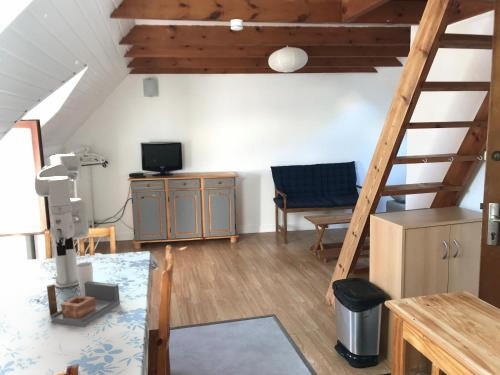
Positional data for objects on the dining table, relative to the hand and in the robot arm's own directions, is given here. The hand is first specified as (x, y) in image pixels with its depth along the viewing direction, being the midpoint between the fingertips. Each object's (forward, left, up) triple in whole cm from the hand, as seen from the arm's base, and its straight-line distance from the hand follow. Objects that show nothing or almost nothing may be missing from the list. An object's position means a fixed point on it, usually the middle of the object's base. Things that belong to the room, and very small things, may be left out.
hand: (65, 252), depth 164 cm
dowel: (-12, +2, -28) cm, 30 cm away
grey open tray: (+2, +6, -28) cm, 29 cm away
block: (+2, +2, -26) cm, 26 cm away
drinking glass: (-11, +21, -28) cm, 37 cm away
